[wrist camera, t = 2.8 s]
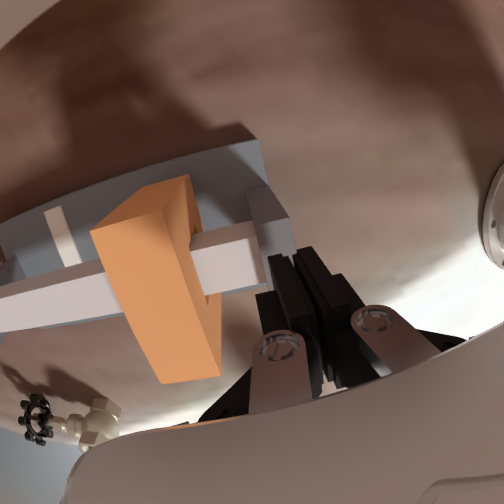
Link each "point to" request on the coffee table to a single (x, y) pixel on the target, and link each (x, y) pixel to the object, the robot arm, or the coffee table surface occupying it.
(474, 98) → the coffee table surface
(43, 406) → the valve
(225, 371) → the coffee table surface
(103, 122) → the coffee table surface
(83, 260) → the slider rail fixture
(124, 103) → the coffee table surface
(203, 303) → the orange rectangular prism
